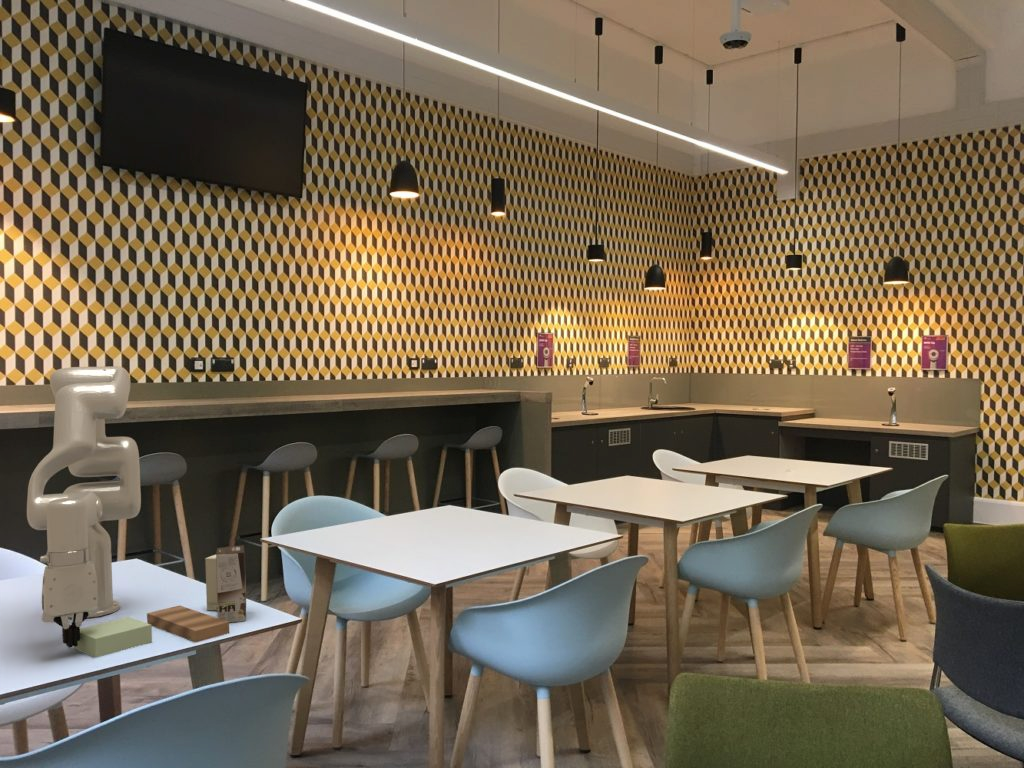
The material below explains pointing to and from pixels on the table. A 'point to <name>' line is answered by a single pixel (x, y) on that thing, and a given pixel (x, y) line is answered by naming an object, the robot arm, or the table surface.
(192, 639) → the board
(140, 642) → the slab
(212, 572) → the box
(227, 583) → the coffee box
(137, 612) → the table surface
